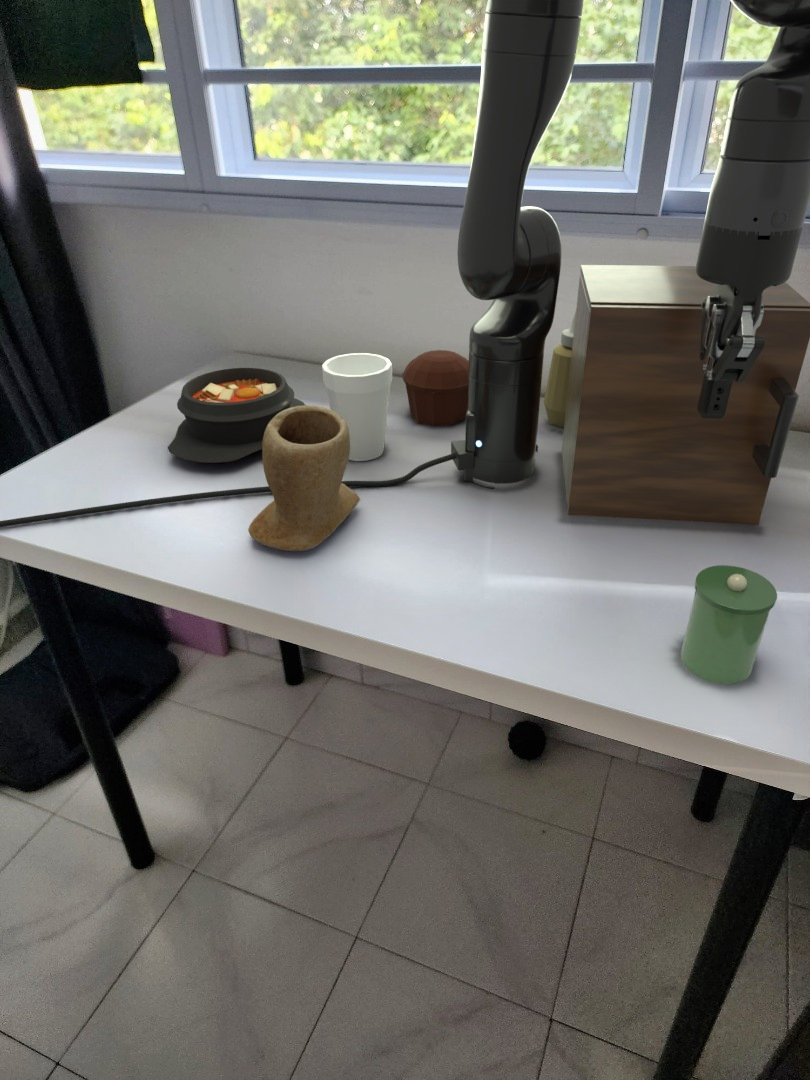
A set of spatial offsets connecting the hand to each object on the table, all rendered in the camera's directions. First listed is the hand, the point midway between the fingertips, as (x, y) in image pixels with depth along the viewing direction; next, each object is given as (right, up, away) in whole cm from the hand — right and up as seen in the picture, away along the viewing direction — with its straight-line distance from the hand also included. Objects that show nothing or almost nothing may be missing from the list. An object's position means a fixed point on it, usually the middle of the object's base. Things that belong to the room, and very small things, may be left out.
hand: (710, 415), depth 71 cm
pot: (0, -23, -1) cm, 23 cm away
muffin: (-23, +8, +48) cm, 54 cm away
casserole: (-53, +4, +43) cm, 69 cm away
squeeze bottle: (-4, +6, +44) cm, 45 cm away
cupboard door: (+1, -11, +17) cm, 21 cm away
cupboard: (+3, -5, +27) cm, 28 cm away
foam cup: (-35, +1, +38) cm, 52 cm away
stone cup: (-40, -10, +21) cm, 46 cm away
